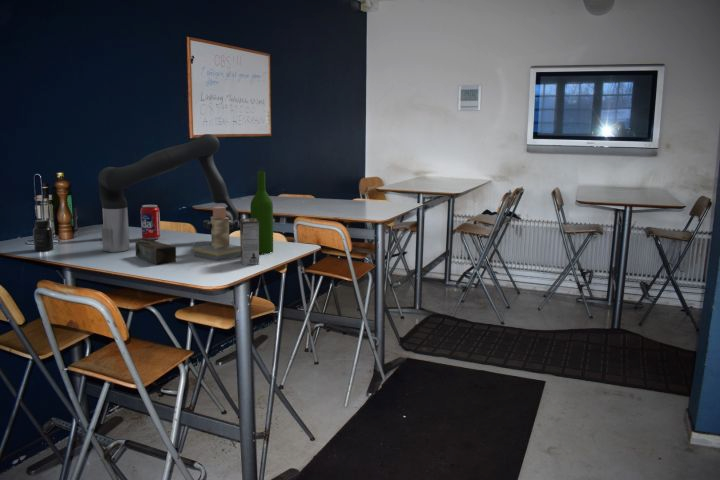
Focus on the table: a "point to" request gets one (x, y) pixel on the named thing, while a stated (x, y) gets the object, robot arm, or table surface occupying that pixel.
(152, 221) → the soda can
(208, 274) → the table surface
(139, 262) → the table surface
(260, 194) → the wine bottle
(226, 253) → the dock
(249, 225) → the coffee box
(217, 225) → the wooden block
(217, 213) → the cube
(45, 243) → the supplement bottle
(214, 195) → the robot arm
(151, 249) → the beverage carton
